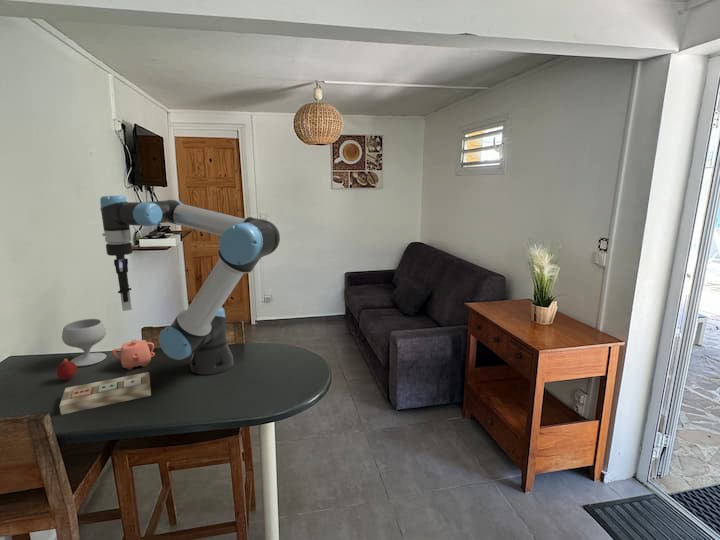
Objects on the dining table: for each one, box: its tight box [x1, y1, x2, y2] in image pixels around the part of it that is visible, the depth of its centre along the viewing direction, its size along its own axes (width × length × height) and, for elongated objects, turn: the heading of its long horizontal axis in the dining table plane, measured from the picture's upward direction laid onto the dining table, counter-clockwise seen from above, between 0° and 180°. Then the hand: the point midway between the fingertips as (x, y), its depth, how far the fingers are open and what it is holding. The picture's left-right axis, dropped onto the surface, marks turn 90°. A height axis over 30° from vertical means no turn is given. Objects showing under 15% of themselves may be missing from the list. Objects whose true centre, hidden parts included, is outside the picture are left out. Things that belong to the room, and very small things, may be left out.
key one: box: [124, 377, 142, 388], centre depth 135 cm, size 5×5×3 cm
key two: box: [98, 382, 118, 393], centre depth 132 cm, size 5×5×3 cm
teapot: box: [111, 339, 156, 371], centre depth 154 cm, size 12×12×10 cm
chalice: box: [61, 318, 107, 367], centre depth 157 cm, size 14×14×15 cm
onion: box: [56, 357, 78, 381], centre depth 142 cm, size 6×6×8 cm
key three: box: [71, 387, 93, 399], centre depth 129 cm, size 5×5×3 cm
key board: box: [59, 371, 152, 416], centre depth 132 cm, size 24×12×3 cm, turn 118°
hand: (127, 309), depth 142 cm, fingers closed
